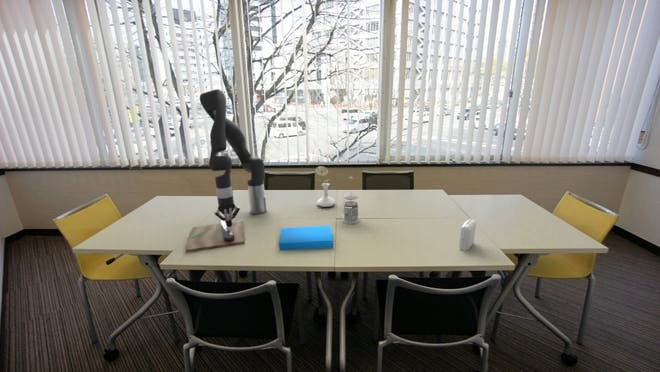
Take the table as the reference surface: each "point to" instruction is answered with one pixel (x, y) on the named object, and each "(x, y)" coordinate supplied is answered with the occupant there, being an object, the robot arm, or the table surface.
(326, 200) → the flower in vase
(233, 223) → the dial plate
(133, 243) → the table surface
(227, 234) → the tuning lever
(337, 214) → the table surface
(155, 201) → the table surface
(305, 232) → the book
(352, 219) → the french press
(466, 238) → the photo printer
